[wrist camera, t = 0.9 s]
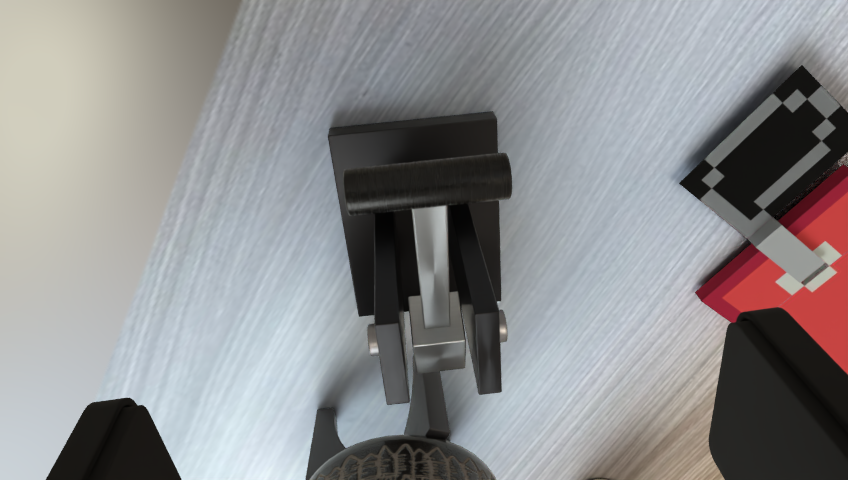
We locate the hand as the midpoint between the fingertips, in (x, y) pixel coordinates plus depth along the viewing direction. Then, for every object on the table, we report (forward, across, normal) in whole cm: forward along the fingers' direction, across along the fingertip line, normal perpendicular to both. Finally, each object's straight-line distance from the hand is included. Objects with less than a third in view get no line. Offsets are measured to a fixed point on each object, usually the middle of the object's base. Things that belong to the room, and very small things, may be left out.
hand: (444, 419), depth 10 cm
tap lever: (+13, 0, +5) cm, 14 cm away
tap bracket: (+25, 0, +10) cm, 27 cm away
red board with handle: (+25, -28, +18) cm, 41 cm away
